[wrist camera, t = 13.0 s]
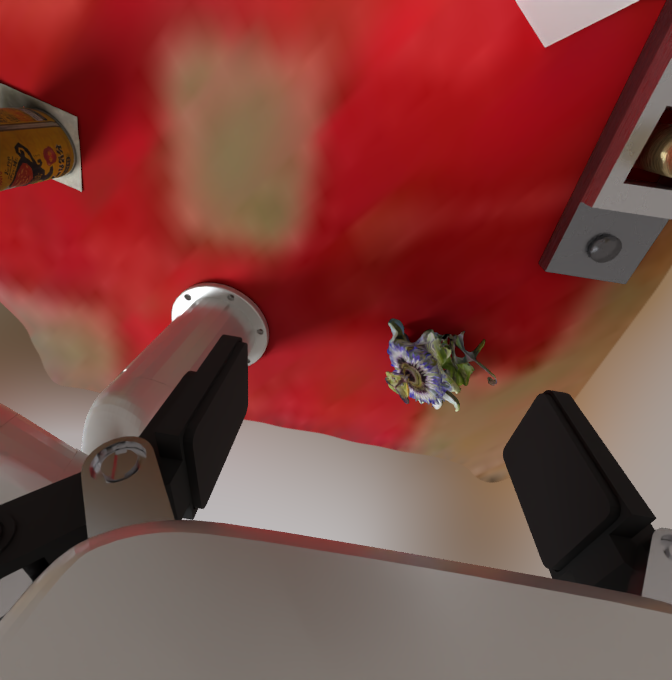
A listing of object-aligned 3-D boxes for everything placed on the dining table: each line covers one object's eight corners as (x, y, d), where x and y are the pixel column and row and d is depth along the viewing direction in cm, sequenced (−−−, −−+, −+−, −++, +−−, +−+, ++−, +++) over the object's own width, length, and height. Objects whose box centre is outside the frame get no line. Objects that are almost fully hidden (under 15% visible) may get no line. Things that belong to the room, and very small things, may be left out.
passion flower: (399, 322, 47) (360, 325, 37) (482, 300, 41) (463, 297, 31) (419, 402, 47) (384, 428, 36) (505, 391, 41) (493, 418, 31)
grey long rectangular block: (614, 275, 34) (641, 296, 31) (538, 263, 35) (555, 282, 31) (818, -43, 22) (907, -74, 18) (694, -58, 22) (756, -90, 18)
